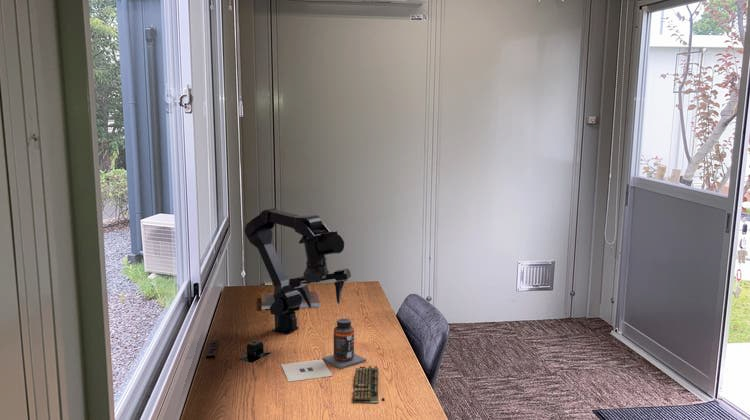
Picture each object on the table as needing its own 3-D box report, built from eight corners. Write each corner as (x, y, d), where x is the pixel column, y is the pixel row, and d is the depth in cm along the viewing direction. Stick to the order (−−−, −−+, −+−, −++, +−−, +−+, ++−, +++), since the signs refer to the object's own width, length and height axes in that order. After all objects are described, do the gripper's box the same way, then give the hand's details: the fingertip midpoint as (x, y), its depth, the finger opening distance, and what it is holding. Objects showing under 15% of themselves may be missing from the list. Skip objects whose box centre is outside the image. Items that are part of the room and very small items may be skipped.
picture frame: (261, 312, 223) (320, 308, 227) (261, 305, 223) (320, 302, 227) (261, 299, 239) (316, 296, 243) (261, 293, 239) (316, 290, 243)
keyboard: (354, 370, 171) (354, 363, 171) (386, 370, 171) (386, 363, 171) (350, 405, 149) (350, 397, 149) (386, 406, 149) (386, 398, 149)
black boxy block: (260, 348, 187) (259, 334, 186) (278, 353, 183) (278, 338, 183) (231, 362, 176) (231, 346, 176) (250, 367, 173) (250, 351, 172)
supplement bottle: (355, 361, 174) (355, 323, 172) (334, 362, 173) (334, 324, 171) (352, 353, 180) (352, 316, 178) (332, 354, 179) (332, 317, 177)
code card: (281, 365, 173) (281, 364, 173) (322, 359, 177) (322, 359, 177) (288, 381, 162) (288, 381, 162) (332, 376, 165) (332, 375, 165)
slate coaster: (322, 359, 177) (322, 357, 177) (347, 352, 183) (347, 350, 182) (340, 369, 170) (340, 367, 170) (366, 361, 176) (366, 359, 176)
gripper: (278, 263, 183) (287, 315, 183) (338, 254, 179) (347, 306, 179) (290, 259, 194) (299, 308, 194) (346, 250, 190) (355, 299, 190)
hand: (324, 305), depth 189 cm, fingers open, 9 cm apart
